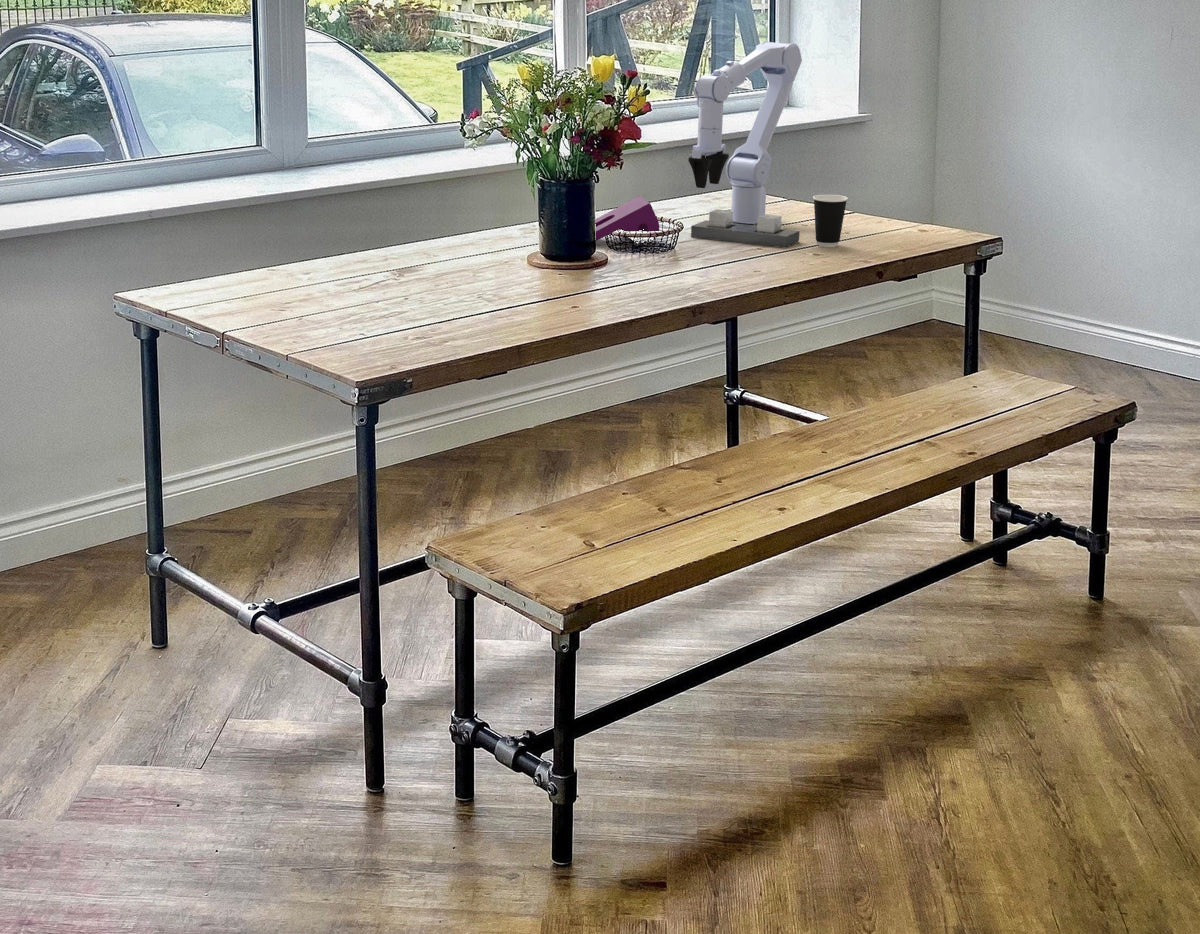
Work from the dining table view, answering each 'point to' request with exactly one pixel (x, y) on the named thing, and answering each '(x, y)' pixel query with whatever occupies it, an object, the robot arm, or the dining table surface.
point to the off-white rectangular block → (769, 224)
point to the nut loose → (721, 219)
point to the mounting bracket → (628, 218)
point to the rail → (745, 234)
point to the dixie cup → (829, 218)
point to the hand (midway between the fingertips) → (707, 185)
